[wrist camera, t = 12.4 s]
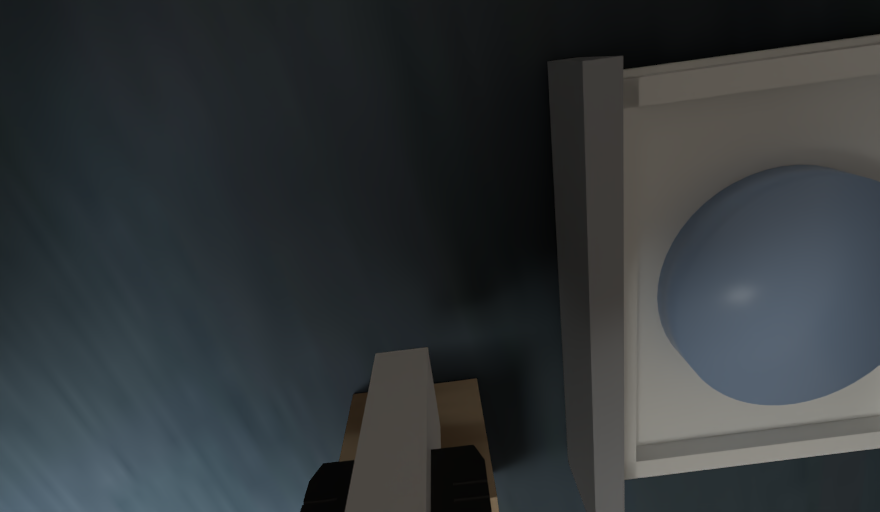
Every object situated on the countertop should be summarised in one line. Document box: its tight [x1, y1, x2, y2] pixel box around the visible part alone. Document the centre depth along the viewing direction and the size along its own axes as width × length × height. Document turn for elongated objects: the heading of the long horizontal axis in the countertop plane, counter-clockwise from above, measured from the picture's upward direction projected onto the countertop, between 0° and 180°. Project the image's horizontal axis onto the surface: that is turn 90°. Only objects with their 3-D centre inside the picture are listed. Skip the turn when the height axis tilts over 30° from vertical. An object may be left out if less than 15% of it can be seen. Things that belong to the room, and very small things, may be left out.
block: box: [339, 378, 499, 512], centre depth 19 cm, size 5×5×6 cm
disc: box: [657, 165, 880, 405], centre depth 17 cm, size 8×8×2 cm
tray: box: [547, 34, 880, 512], centre depth 17 cm, size 18×16×4 cm
